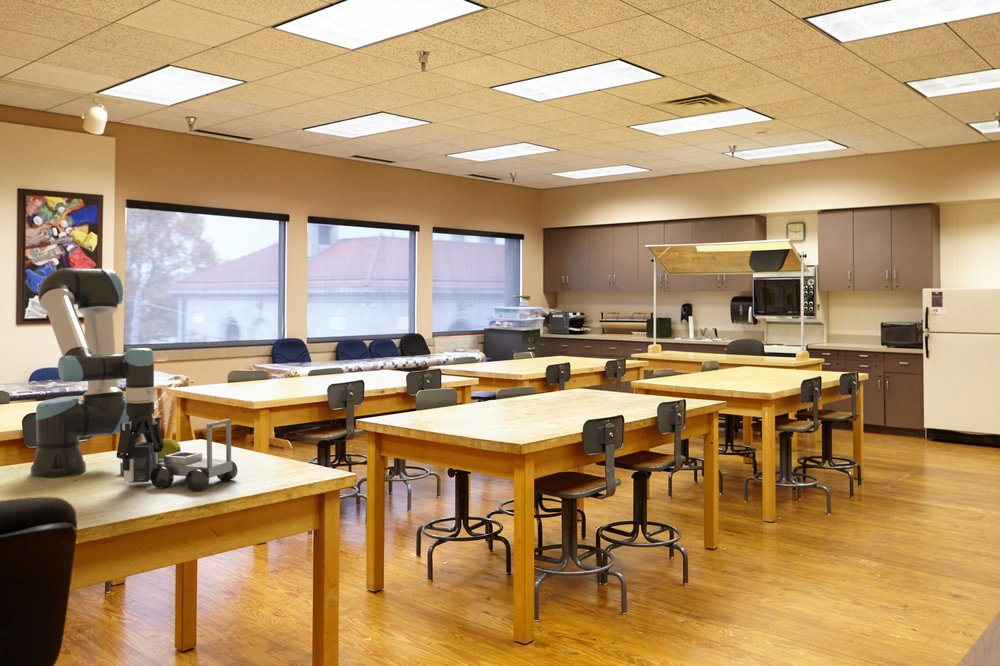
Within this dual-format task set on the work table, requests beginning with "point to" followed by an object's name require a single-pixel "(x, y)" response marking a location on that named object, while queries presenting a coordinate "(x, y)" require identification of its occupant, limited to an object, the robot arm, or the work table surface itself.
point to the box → (143, 461)
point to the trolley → (196, 464)
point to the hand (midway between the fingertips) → (141, 477)
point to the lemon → (169, 448)
